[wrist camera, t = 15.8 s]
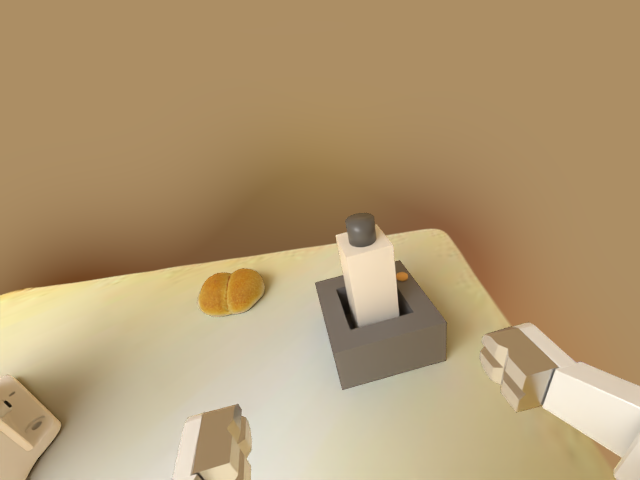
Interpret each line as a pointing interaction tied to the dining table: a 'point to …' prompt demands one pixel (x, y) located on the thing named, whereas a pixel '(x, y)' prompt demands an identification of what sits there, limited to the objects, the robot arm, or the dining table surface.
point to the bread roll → (230, 292)
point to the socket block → (382, 333)
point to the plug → (368, 271)
